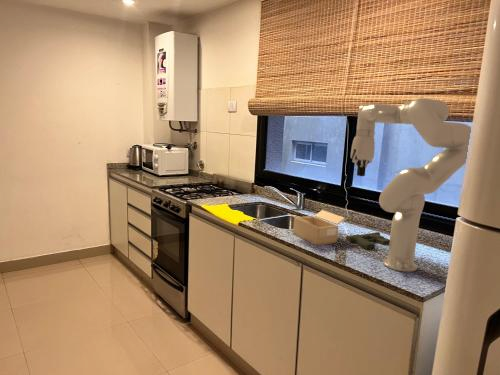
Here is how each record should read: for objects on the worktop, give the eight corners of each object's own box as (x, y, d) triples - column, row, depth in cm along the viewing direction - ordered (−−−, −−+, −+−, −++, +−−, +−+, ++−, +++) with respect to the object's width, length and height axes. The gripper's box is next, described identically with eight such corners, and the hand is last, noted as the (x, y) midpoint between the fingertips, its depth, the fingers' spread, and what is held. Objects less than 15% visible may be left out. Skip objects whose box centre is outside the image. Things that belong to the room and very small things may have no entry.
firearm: (401, 239, 174) (375, 230, 187) (368, 244, 162) (342, 234, 174) (400, 245, 175) (374, 236, 187) (367, 251, 162) (342, 241, 174)
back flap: (337, 223, 170) (337, 224, 170) (344, 217, 171) (345, 218, 171) (314, 215, 184) (315, 216, 184) (322, 209, 185) (322, 210, 186)
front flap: (309, 221, 161) (308, 222, 161) (317, 225, 164) (316, 226, 164) (288, 213, 176) (287, 214, 176) (295, 217, 178) (295, 218, 178)
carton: (337, 243, 170) (339, 225, 168) (317, 245, 164) (318, 227, 163) (311, 231, 186) (313, 215, 185) (292, 233, 181) (293, 217, 179)
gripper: (370, 134, 167) (366, 174, 170) (346, 133, 160) (342, 174, 163) (383, 135, 161) (379, 176, 164) (358, 133, 154) (354, 177, 157)
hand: (360, 175), depth 163 cm, fingers closed
